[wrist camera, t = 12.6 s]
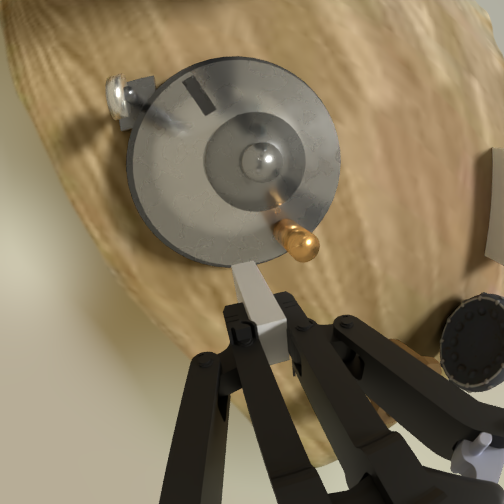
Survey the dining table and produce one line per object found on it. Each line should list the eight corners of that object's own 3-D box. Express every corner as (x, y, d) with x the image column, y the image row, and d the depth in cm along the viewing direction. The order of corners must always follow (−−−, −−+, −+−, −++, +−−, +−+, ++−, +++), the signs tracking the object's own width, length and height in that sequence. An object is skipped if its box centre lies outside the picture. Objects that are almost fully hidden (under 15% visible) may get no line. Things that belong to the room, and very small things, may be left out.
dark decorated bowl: (418, 356, 49) (474, 414, 31) (465, 273, 44) (537, 319, 26) (439, 357, 53) (489, 407, 34) (481, 284, 48) (542, 325, 30)
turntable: (97, 140, 22) (72, 138, 16) (272, 35, 22) (295, 10, 16) (212, 294, 30) (220, 328, 24) (360, 193, 30) (396, 205, 24)
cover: (184, 169, 24) (184, 175, 19) (239, 100, 23) (253, 87, 18) (254, 219, 27) (271, 236, 22) (304, 153, 26) (332, 155, 21)
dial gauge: (117, 87, 23) (96, 69, 16) (154, 77, 23) (145, 55, 16) (123, 131, 24) (102, 125, 18) (160, 122, 25) (151, 112, 18)
